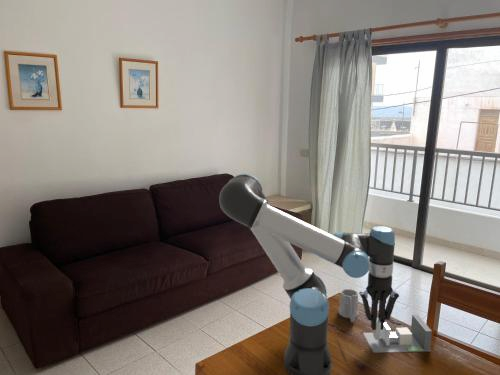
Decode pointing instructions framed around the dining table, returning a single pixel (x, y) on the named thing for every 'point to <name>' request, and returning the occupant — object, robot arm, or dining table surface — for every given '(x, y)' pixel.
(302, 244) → the robot arm
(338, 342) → the dining table surface
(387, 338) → the plunger
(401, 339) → the block
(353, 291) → the mug
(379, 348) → the bench
